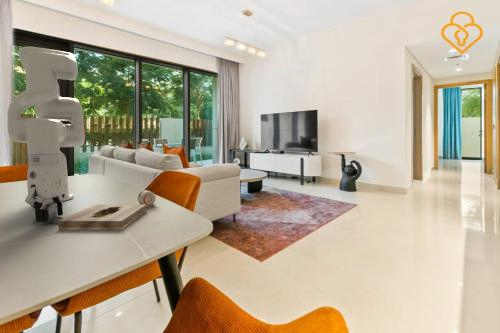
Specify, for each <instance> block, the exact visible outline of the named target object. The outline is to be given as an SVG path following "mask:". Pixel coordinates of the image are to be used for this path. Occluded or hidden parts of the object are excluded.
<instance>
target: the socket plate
mask: <svg viewBox="0 0 500 333" xmlns="http://www.w3.org/2000/svg"><path fill="white" fill-rule="evenodd" d="M147 211H148V210H147V206H146V205H140V204H94V205H92V206H89V207H87V208H84V209H82V210H80V211H77V212H75V213H73V214H71V215H69V216H65V217H66V218H64V219H61V220H59V221H58V224H57V225H58V230H123V229H125V228H126V227H127V226H129V225H130V224H132V223H133V222H134V221H135V220H138V218H140V217H141V216H142V215H144V214H145V213H147Z"/></svg>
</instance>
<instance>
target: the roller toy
mask: <svg viewBox="0 0 500 333" xmlns="http://www.w3.org/2000/svg"><path fill="white" fill-rule="evenodd" d="M137 202H138V203H139V205H146V207H151V206H152V205H154V204H155V202H156V195H155V193H154V192H152V191H150V190H147V189H146V190H142V191H140V192H139V193H138V196H137Z"/></svg>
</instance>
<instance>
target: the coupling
mask: <svg viewBox="0 0 500 333" xmlns="http://www.w3.org/2000/svg"><path fill="white" fill-rule="evenodd" d="M45 208H47V212H48V221H47V222H36V217H34V218H32V223H33V224H34V225H35V224H36V225H37V224H40V225H42V226H43V225H44V226H47V225H53V224H55V225H56V224H57V225H59V224H58V221H59V220H61V219H64V218H66V217H67V216H58V209H57V202H48V203H46V205H45Z"/></svg>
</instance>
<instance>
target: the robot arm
mask: <svg viewBox="0 0 500 333" xmlns="http://www.w3.org/2000/svg"><path fill="white" fill-rule="evenodd" d="M18 56H19V61H20V62H21V63H20V64H21V65H22V67H23V69H24V71H25V90H23V91H21V92H20V93H19V94H17V95H16V96H15V97H14V99H12V100H11V102H10V104H9V106H8V109H7V134H8V137H9V138H10V140H11V141H13V142H16V143H24V144H26V148H27V161H28V166H27V167H28V168H27V178H26V180H27V181H26V184H27V185H26V188H27V195H26V197H25V199H24V202H25V203H26V204H28V205H29V206H30V207H32V210H34V213H35V214H34V218H36V222H47V221H48V212H47V208H45V205H46V203H48V202H57V209H58V217H62V216H63V215H64V212H63V202H66V201H69V200H72V199H73V198H74V194H73V193H70V192H69V190H70V189H69V177H68V163H67V157H66V155H65V153H63V152H62V151H61V150H60V148H74V147H81V146H84V144H85V138H86V136H85V125H84V111H83V106H82V104H81V102H80V101H79V99H77V98H72V97H62V96H61V95H60V94H61V93H60V85H59V83H58V82H59V81H58V79H60V80H69V81H75V80H76V79H77V77H78V73H79V70H78V62H77V59H76V56H75V55H74V54H73V53H71V52H67V51H62V50H57V49H49V48H44V47H37V46H22V47H20V48H19V49H18ZM32 107H34V108H33V109H34V114H35V115H36V117H32V118H29V117H27V118H24V117H23V118H22V117H21V116H22V114H23V113H24V112H25V111H27V110H28V109H30V108H32ZM62 121H63V122H69V123H70V124H69V123H66V124H65V123H63V122H62Z"/></svg>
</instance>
